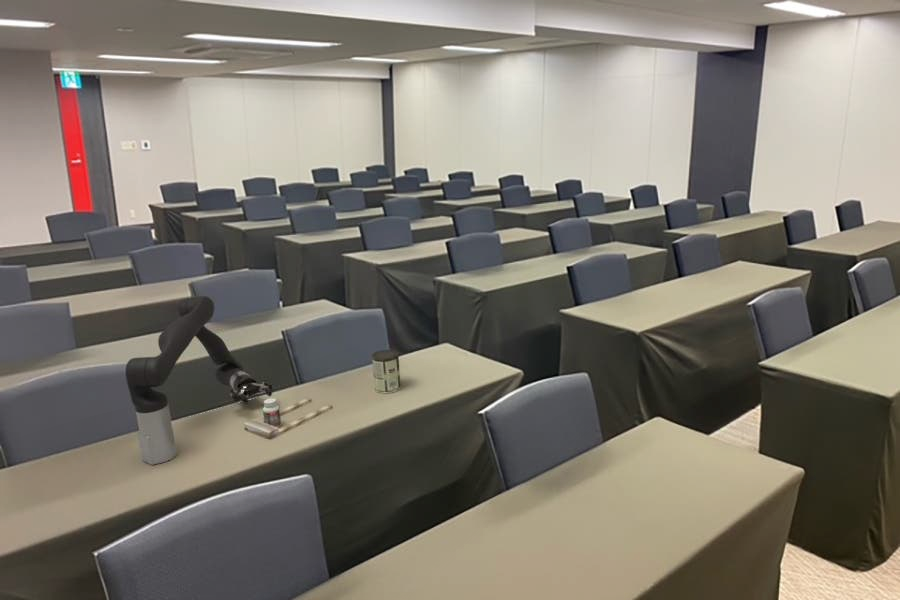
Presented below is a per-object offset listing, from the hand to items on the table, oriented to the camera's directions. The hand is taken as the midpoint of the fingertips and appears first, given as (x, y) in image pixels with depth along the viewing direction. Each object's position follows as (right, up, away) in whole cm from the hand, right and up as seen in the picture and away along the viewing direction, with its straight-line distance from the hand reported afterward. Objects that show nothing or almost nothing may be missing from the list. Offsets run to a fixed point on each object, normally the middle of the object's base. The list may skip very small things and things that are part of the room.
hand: (258, 397), depth 223 cm
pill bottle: (+7, -9, -6) cm, 13 cm away
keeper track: (+11, -7, -1) cm, 14 cm away
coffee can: (+44, 0, +21) cm, 49 cm away
